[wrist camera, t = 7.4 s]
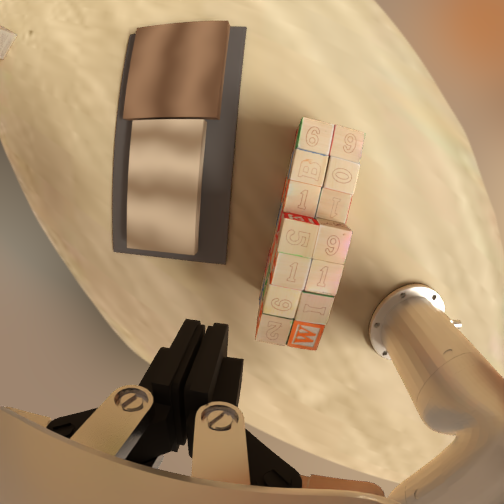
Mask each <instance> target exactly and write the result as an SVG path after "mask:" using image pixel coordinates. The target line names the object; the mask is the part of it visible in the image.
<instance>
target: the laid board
mask: <svg viewBox="0 0 504 504" xmlns="http://www.w3.org/2000/svg"><path fill="white" fill-rule="evenodd" d="M229 33H230V25H229V22H228V21H201V22H185V23H173V24H164V25H155V26H148V27H141V28H137V31H136V36H135V41H134V46H133V51H132V57H131V62H130V68H129V74H128V81H127V88H126V96H125V104H124V112H123V119H125V120H129V121H132V120H155V119H208V120H220V113H221V103H222V93H223V84H224V75H225V66H226V57H227V49H228V41H229Z"/></svg>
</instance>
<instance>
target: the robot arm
mask: <svg viewBox="0 0 504 504" xmlns="http://www.w3.org/2000/svg"><path fill="white" fill-rule="evenodd" d="M460 327H461V321H460V320H451V319H450V318H449V317H448V316H447V315H446V314H445V306H444V303H443V300H442V298H441V297H440V295H439V294H438V293H437V292H436V291H435V290H434V289H432V288H431V287H429V286H426V285H423V284H410V285H406V286H403V287H401V288H399V289H397V290H395V291H393V292H392V293H391V294H389V295H388V296H387V297H386V298H385V299H384V300H383V301H382V302H381V303H380V304H379V306H378V307H377V308H376V310H375V312H374V314H373V316H372V318H371V322H370V326H369V338H370V341H371V344H372V346H373V348H374V350H375V351H376V352H377V354H378V355H380V356H381V357H383V358H385V359H387V360H392V361H393V363H394V365H395V367H396V369H397V371H398V373H399V375H400V377H401V379H402V381H403V383H404V385H405V387H406V389H407V391H408V393H409V395H410V397H411V399H412V401H413V403H414V405H415V407H416V409H417V411H418V413H419V415H420V417H421V419H422V420H423V422H424V423H425V424H426V426H428V427H429V428H430V429H432V430H433V431H436V432H438V433H442V434H447V435H456V438H455V439H454V441H453V442H452V443H451V444H450V445H449V446H448V447H447V448H445V449H444V450H443V451H442V452H441V453H440V454H439V455H438V456H436V457H435V458H434V459H433V460H431V461H430V462H429V463H428V464H426V465H425V466H424V467H422V468H421V469H420V470H418V471H417V472H415V473H414V474H413V475H411V476H410V477H409V478H407V479H406V480H405V481H403V482H402V483H401V484H399V485H398V486H397V487H396V488H395V489H394V490H393V491H392V492H391V493H390V494H389V496H388V497H387V498H386V497H385V495H384V492H383V490H382V489H381V487H379V486H378V485H376V484H375V483H370V482H366V481H356V480H347V479H339V478H332V477H326V476H320V475H314V474H311V476H310V477H309V476H304V475H300V474H299V473H298V472H297V471H296V470H295V469H294V468H293V467H291V466H290V465H289V464H287V463H286V462H285V461H284V460H282V459H281V458H280V457H279V456H277V455H276V454H275V453H274V452H272V451H271V450H270V449H269V448H267V447H266V446H265V445H264V444H263V443H261V442H260V441H259V440H258V439H257V438H256V437H254V436H253V435H252V434H251V433H250V432H249V431H248V430H247V429H245V422H244V416H243V413H242V412H241V410H240V409H239V408H238V403H239V397H240V390H241V382H242V372H243V359H238V358H230V357H227V346H228V328H229V327H228V324H220V323H214V325H213V326H208V328H207V330H206V333H205V325H201V323H200V321H197V320H190V319H186V320H185V321H184V323H183V325H182V327H181V328H180V330H179V332H178V334H177V336H176V337H175V339H174V341H173V343H172V345H171V347H170V348H165V347H161V348H160V350H159V351H158V353H157V355H156V356H155V358H154V360H153V361H152V363H151V365H150V367H149V369H148V370H147V372H146V373H145V375H144V377H143V379H142V380H141V382H140V384H139V386H137V385H126V386H122V387H119V388H117V389H116V390H115V391H113V393H111V394H110V396H109V397H108V398H107V399H106V400H105V401H104V402H103V403H102V404H101V405H100V406H99V407H98V408H95V409H91V410H88V411H84V412H80V413H76V414H72V415H68V416H64V417H60V418H57V419H54V420H53V421H51V419H50V417H46V416H42V415H38V414H34V413H30V412H26V411H23V410H19V409H16V408H12V407H4V406H2V405H0V504H504V378H503V377H502V376H501V375H500V374H499V373H498V372H497V371H496V370H495V369H494V368H493V366H492V365H491V364H490V363H489V362H488V361H487V360H486V359H485V357H484V356H483V355H482V354H481V353H480V352H479V351H478V350H477V349H476V348H475V347H474V346H473V345H472V343H471V342H470V341H469V340H468V339H467V338H466V337H465V336H464V335H463V334H462V333H461V332H460V331H459V330H458V329H460ZM186 439H188V450H189V455H190V457H191V458H192V472H191V476H185V475H181V474H177V473H172V472H168V471H163V470H160V469H158V468H159V466H160V464H161V462H162V460H163V457H164V456H163V454H165V453H168V452H170V451H174V452H177V451H178V448H179V445H185V443H186Z"/></svg>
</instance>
